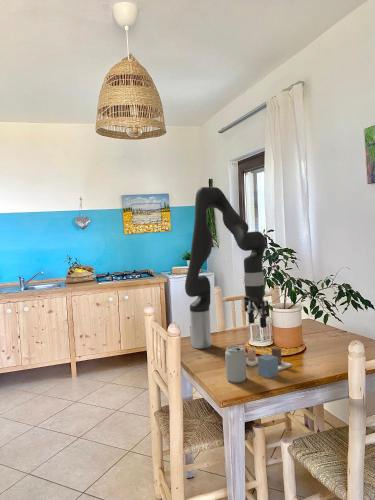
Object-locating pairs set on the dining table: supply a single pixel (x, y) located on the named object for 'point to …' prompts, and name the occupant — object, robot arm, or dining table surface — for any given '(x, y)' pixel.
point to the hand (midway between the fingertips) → (257, 325)
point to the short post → (251, 358)
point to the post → (281, 364)
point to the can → (235, 364)
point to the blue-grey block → (268, 366)
